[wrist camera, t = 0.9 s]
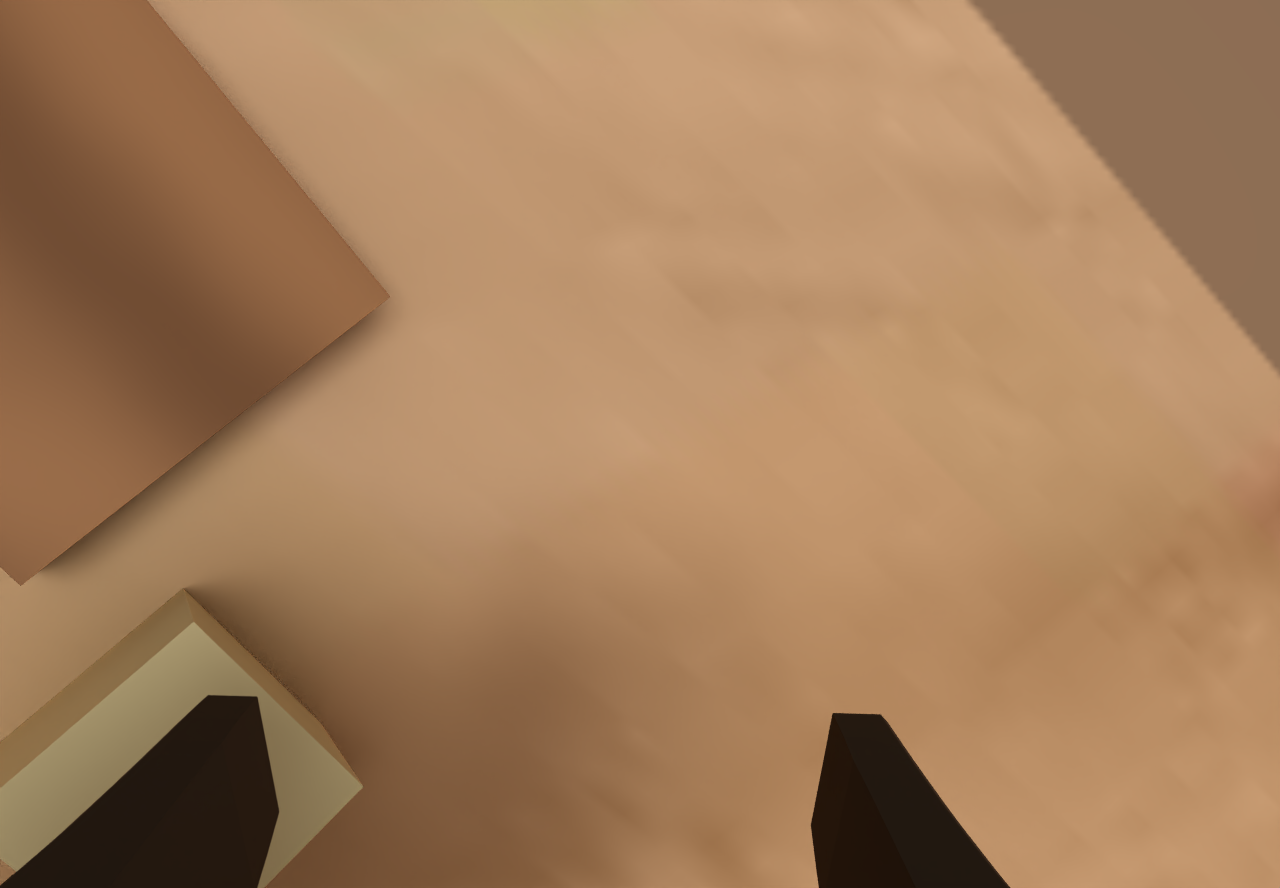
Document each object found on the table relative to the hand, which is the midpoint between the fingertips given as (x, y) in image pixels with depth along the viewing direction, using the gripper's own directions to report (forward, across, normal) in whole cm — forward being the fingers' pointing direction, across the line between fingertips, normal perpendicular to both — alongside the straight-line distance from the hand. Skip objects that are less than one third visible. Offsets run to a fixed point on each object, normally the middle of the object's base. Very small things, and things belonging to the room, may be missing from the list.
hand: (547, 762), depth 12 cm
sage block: (+7, +9, +7) cm, 13 cm away
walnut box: (+11, +11, -2) cm, 16 cm away
